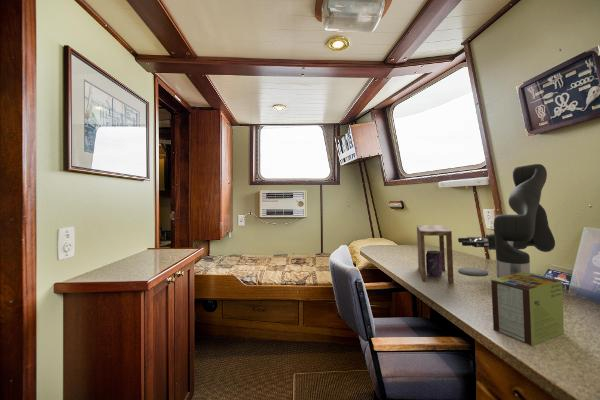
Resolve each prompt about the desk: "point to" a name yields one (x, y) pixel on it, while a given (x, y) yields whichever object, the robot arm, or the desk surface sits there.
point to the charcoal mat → (472, 271)
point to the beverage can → (433, 263)
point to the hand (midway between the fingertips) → (460, 241)
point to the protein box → (527, 307)
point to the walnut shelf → (441, 232)
